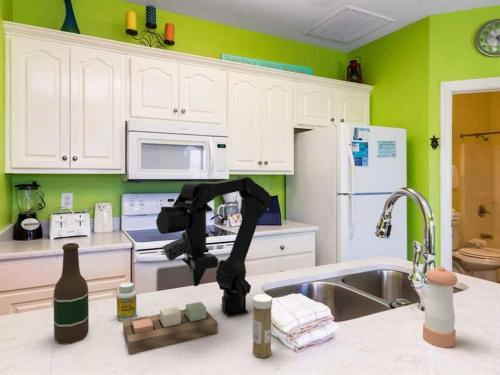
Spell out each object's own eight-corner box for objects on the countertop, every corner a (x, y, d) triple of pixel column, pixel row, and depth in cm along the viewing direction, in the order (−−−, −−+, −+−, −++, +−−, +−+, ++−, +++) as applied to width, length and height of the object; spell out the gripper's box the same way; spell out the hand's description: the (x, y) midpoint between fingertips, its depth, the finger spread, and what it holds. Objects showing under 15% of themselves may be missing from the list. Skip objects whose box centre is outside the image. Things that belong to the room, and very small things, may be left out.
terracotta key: (149, 329, 86) (149, 318, 86) (153, 336, 82) (153, 325, 82) (132, 332, 84) (132, 321, 84) (134, 340, 80) (134, 328, 80)
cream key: (176, 316, 89) (176, 306, 89) (180, 323, 85) (180, 312, 85) (159, 320, 87) (159, 309, 87) (163, 327, 83) (163, 315, 83)
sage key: (200, 312, 92) (200, 301, 92) (206, 318, 89) (206, 307, 88) (185, 315, 90) (185, 304, 90) (190, 321, 86) (190, 310, 86)
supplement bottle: (133, 311, 99) (133, 280, 99) (138, 318, 95) (138, 285, 94) (115, 315, 96) (114, 283, 96) (119, 322, 92) (118, 289, 91)
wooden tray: (202, 316, 97) (202, 306, 97) (217, 334, 86) (217, 322, 86) (123, 331, 87) (123, 320, 86) (129, 354, 76) (129, 342, 76)
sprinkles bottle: (273, 357, 76) (274, 300, 75) (254, 359, 75) (255, 301, 74) (268, 347, 80) (269, 293, 80) (250, 349, 79) (250, 294, 78)
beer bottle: (95, 332, 86) (94, 242, 85) (70, 347, 79) (69, 248, 78) (72, 327, 89) (71, 239, 88) (46, 341, 81) (45, 245, 80)
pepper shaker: (443, 350, 80) (447, 273, 79) (416, 337, 86) (419, 265, 85) (461, 343, 83) (464, 269, 82) (433, 331, 89) (436, 262, 88)
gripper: (157, 225, 93) (158, 279, 94) (174, 238, 76) (175, 303, 77) (195, 223, 98) (195, 274, 99) (219, 234, 81) (219, 295, 82)
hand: (195, 285), depth 89 cm, fingers closed
